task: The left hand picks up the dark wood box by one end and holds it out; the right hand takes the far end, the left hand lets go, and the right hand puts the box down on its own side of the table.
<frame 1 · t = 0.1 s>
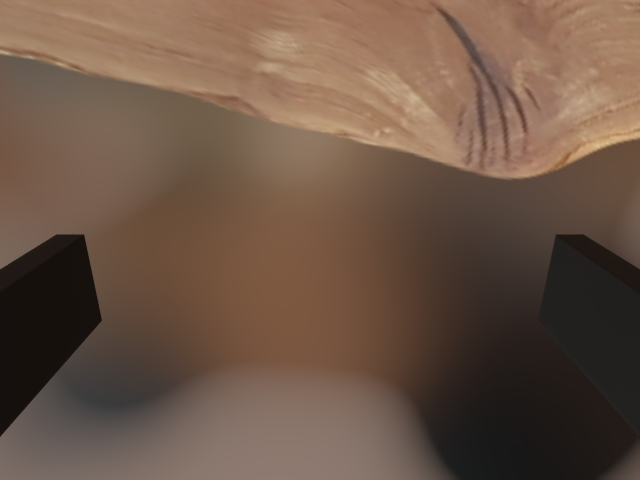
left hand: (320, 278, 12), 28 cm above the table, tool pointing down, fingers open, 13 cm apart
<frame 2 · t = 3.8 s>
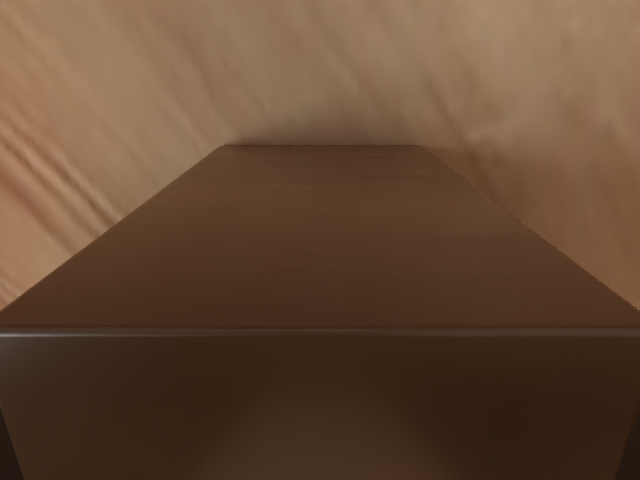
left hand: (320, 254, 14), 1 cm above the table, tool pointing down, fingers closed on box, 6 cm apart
box: (320, 460, 18), on the table, touching left hand
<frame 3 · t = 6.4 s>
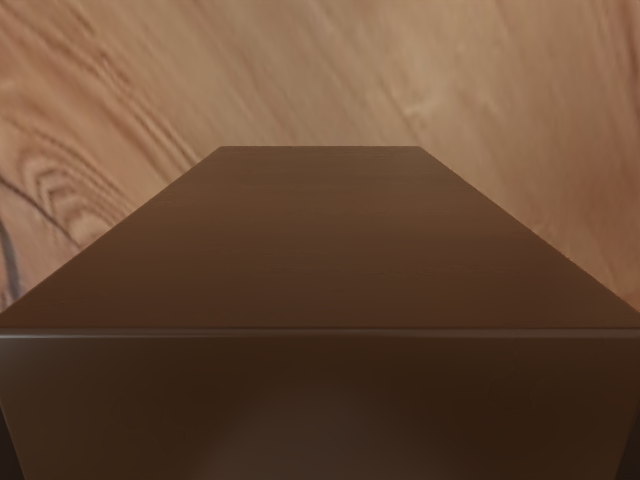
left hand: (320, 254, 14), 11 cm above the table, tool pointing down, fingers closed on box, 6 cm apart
box: (320, 461, 18), point 10 cm above the table, touching left hand
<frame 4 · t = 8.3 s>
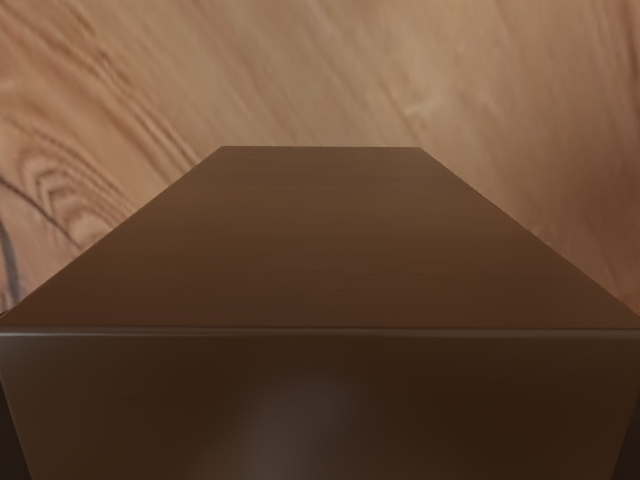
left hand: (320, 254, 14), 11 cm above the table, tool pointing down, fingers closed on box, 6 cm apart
box: (318, 459, 19), point 10 cm above the table, touching left hand, right hand
when the left hand's fingers open (11 cm above the table, at t = 9.3 s): box stays where it is, held by the right hand.
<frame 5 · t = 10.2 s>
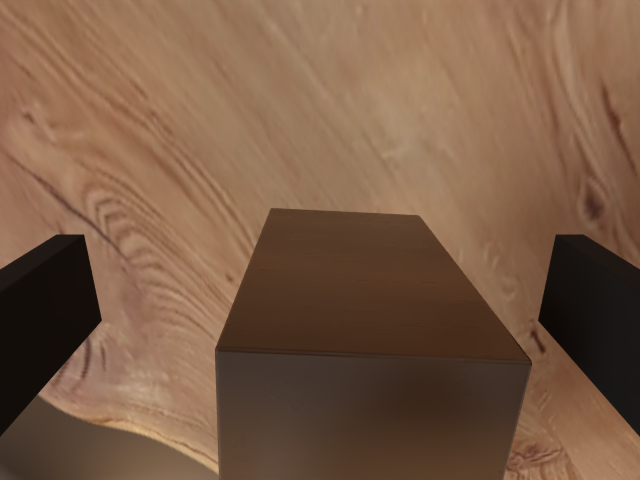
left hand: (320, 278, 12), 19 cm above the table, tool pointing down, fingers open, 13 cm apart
box: (327, 454, 23), point 13 cm above the table, touching right hand
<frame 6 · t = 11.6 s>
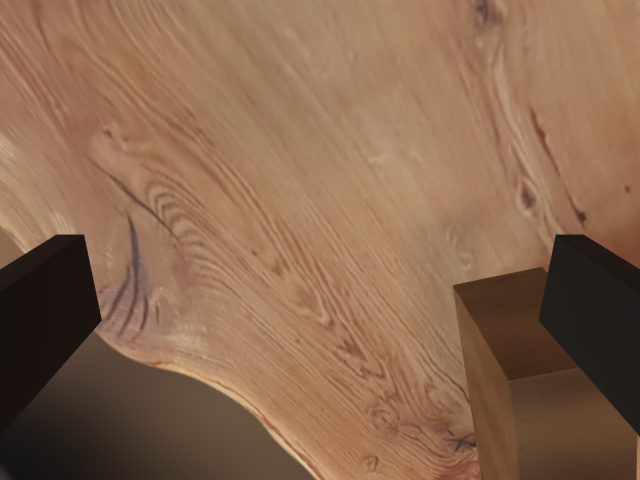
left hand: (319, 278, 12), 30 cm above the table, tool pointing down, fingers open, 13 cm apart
box: (511, 416, 36), point 13 cm above the table, touching right hand
when the right hand's fingers open (7 cm above the table, at t = 15.2 s): box drops 1 cm, on the table.
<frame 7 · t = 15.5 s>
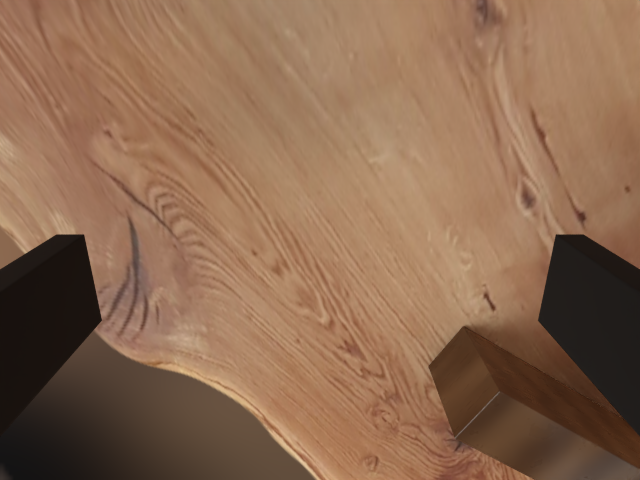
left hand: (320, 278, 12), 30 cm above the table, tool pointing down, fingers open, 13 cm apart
box: (534, 396, 51), on the table
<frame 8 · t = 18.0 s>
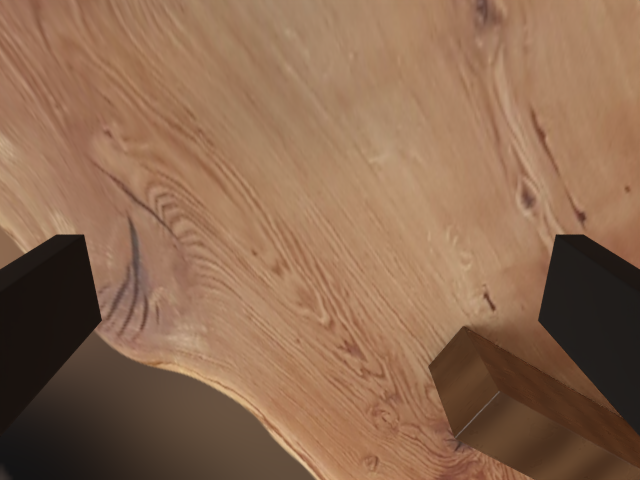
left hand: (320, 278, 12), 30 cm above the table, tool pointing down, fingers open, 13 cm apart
box: (534, 396, 51), on the table
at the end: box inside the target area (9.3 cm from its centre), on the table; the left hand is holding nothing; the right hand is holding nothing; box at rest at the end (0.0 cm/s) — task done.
